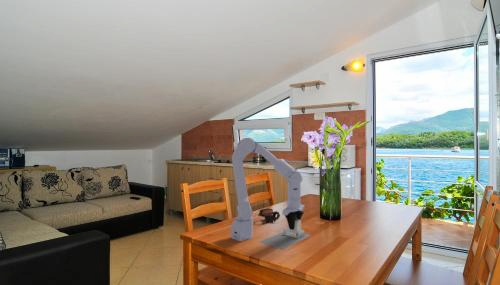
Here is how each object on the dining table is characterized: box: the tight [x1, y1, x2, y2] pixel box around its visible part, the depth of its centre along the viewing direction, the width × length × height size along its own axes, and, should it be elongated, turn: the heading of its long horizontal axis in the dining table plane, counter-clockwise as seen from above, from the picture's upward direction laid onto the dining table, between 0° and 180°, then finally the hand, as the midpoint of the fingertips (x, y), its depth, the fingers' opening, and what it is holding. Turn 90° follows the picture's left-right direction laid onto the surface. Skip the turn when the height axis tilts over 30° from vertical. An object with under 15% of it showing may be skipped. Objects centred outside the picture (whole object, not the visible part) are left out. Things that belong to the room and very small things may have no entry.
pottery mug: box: [257, 207, 281, 225], centre depth 156 cm, size 12×10×8 cm
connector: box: [290, 217, 302, 234], centre depth 131 cm, size 3×4×6 cm
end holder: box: [283, 226, 306, 239], centre depth 132 cm, size 6×8×2 cm
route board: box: [259, 231, 312, 250], centre depth 127 cm, size 22×12×1 cm, turn 138°
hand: (293, 228), depth 132 cm, fingers closed on connector, 3 cm apart
